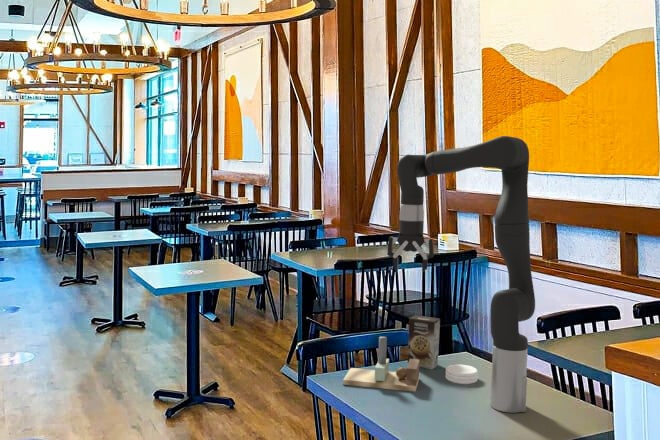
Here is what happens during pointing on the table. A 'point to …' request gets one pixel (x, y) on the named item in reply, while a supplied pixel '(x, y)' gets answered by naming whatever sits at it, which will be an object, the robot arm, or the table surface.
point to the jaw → (382, 361)
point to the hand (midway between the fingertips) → (410, 270)
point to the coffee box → (424, 340)
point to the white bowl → (461, 374)
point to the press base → (394, 380)
